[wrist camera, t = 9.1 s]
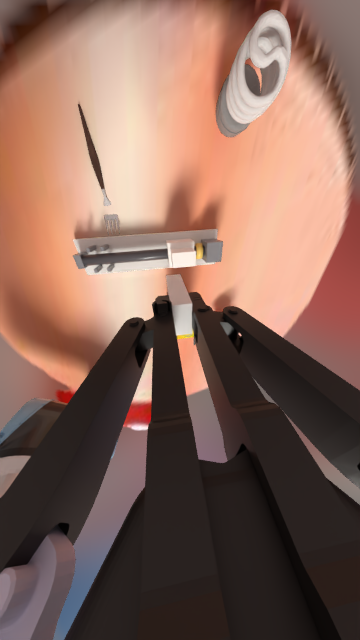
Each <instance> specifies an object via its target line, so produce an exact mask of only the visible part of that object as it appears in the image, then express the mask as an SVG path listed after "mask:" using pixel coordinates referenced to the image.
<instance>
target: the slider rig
mask: <svg viewBox="0 0 360 640" xmlns="http://www.w3.org/2000/svg"><path fill="white" fill-rule="evenodd" d="M217 232H218V229H206V230H192V231H178V232H164V233H151V234H137V235H123V236H109V237H95V238H81V239H73V241H74V243H75V246H76V248H77V250H78V254H75V255H73V257H74V259H75V262H76V264H77V266H78V269H82V268H85V270H86V272H87V275H94V274H105V273H116V272H128V271H139V270H150V269H161V268H169V264H168V248H167V245H166V240H176V239H189V238H190V239H192V240H193V241H194V250H195V251H196V265H206V264H215V262H221V257H222V247H223V241H220V240H217Z"/></svg>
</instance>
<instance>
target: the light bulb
mask: <svg viewBox="0 0 360 640" xmlns="http://www.w3.org/2000/svg"><path fill="white" fill-rule="evenodd" d="M290 56H291V35H290V29H289V25H288V23H287V20H286V19H285V17H284V15H283V14H282V13H281V12H279V11H277V10H270V11H268V12H265V13H264V14H262V15H261V16H260V17H259V19H258V20H257V22H256V23H255V25H254V27H253V28H252V29H251V30H250V32H249V33H248V34H247V36H246V38H245V40H244V42H243V43H242V45H241V46H240V48H239V50H238V52H237V55H236V57H235V60H234V62H233V65H232V68H231V71H230V74H229V75H228V77H227V78H226V80H225V82H224V84H223V87H222V89H221V92H220V94H219V98H218V101H217V105H216V122H217V125H218V128H219V130H220V131H221V133H222V134H223V135H225V136H226V137H234V136H236V135H238V134H239V133H241V132H242V131H243V130H245V129H246V128H247V127H248V125H249V124H250V123H251V122H252V121H254V120H255V119H256V118H257V117H259V116H260V115H262V114H263V113H264V112H265V111H266V109H267V108H268V107H269V106H270V105H271V104H272V102H273V101H274V100H275V98H276V97H277V95H278V93H279V92H280V90H281V88H282V85H283V83H284V81H285V77H286V74H287V71H288V67H289V62H290ZM249 58H251V61H252V63H253V64H254V66H256V67H258V68H260V70H261V74H262V88H261V93H260V82H259V79H258V76H257V74H256V71H255V70H254V69H253V68H252V67H251V66H249V65H245V60H246V59H249Z"/></svg>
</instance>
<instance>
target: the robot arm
mask: <svg viewBox="0 0 360 640" xmlns="http://www.w3.org/2000/svg"><path fill="white" fill-rule="evenodd" d="M166 279H167V288H168V295H166V296H158V297H157V298H156V301H155V302H153V304H152V307H153V312H154V317H153V318H151V319H149V320H147V321H144V320H143V319H142V318H138V317H136V318H131V319H129V320H127V321H126V322H125V323H124V324H123V326H122V327H121V329H120V330H119V331H118V333H117V334H116V336H115V337H114V339H113V340H112V341H111V343H110V344H109V346H108V347H107V349H106V350H105V351H104V353H103V354H102V356H101V357H100V359H99V360H98V361H97V363H96V364H95V366H94V367H93V368H92V370H91V371H90V373H89V374H88V376H87V377H86V378H85V380H84V381H83V383H82V384H81V386H80V387H79V388H78V390H77V391H76V393H75V394H74V396H73V397H72V398H71V400H70V401H69V403H68V404H67V403H63V402H58V401H54V400H53V399H50V400H48V399H42V398H34V399H31V400H30V401H28V402H27V403H26V404H25V405H24V406H23V407H22V408H21V409H20V410H19V411H18V412H17V413H16V414H15V415H14V416H13V417H12V419H11V420H10V421H9V422H8V423H7V424H6V425H5V427H4V428H3V429H2V430H1V432H0V640H53V637H54V633H55V629H56V625H57V621H58V619H59V616H60V613H61V611H62V608H63V606H64V603H65V600H66V598H67V595H68V593H69V590H70V588H71V584H72V579H73V576H74V570H75V560H76V559H75V551H74V548H73V545H74V543H75V541H76V539H77V538H78V536H79V534H80V532H81V530H82V528H83V526H84V524H85V521H86V519H87V517H88V515H89V513H90V511H91V509H92V507H93V504H94V502H95V499H96V497H97V494H98V492H99V489H100V487H101V484H102V481H103V479H104V476H105V473H106V470H107V468H108V465H109V462H110V460H111V459H112V457H113V456H114V453H115V449H116V445H117V442H118V438H119V435H120V432H121V430H122V427H123V424H124V421H125V419H126V416H127V413H128V411H129V408H130V405H131V402H132V400H133V397H134V394H135V392H136V389H137V386H138V383H139V381H140V378H141V375H142V372H143V370H144V367H145V364H146V362H147V359H148V356H149V353H150V349H151V348H153V370H152V408H151V422H150V423H149V426H148V436H147V457H146V481H145V488H144V489H143V490H142V491H141V493H140V494H139V495H138V497H137V499H136V500H135V502H134V503H133V505H132V507H131V509H130V511H129V513H128V515H127V517H126V519H125V521H124V523H123V525H122V527H121V529H120V530H119V533H118V535H117V536H116V538H115V540H114V542H113V545H112V546H111V548H110V550H109V552H108V554H107V556H106V558H105V560H104V562H103V564H102V566H101V568H100V570H99V572H98V574H97V576H96V578H95V580H94V582H93V584H92V586H91V588H90V590H89V592H88V594H87V596H86V598H85V600H84V602H83V604H82V606H81V608H80V610H79V612H78V614H77V616H76V618H75V620H74V622H73V624H72V626H71V628H70V630H69V631H68V633H67V635H66V637H65V639H64V640H360V505H359V504H358V503H357V502H355V501H354V500H353V499H352V498H351V497H349V496H348V495H347V494H346V493H344V492H343V491H342V490H341V489H339V488H338V487H337V486H336V485H334V484H333V483H332V482H331V481H329V480H328V479H327V478H326V477H325V476H324V474H323V472H322V471H321V469H320V468H319V466H318V465H317V463H316V462H315V460H314V459H313V457H312V455H311V454H310V452H309V451H308V449H307V448H306V446H305V445H304V443H303V442H302V440H301V438H300V437H299V435H298V434H297V432H296V431H295V429H294V428H293V426H292V424H291V423H290V421H289V420H288V418H287V417H286V415H287V416H288V417H289V418H290V419H291V420H292V421H293V422H294V424H295V425H296V426H297V427H298V428H299V429H300V430H301V431H302V432H303V434H304V435H305V436H306V437H307V438H308V439H309V440H310V442H311V443H312V444H313V445H314V446H315V447H316V448H317V449H318V450H319V451H320V452H321V453H322V454H323V455H324V456H325V458H327V460H328V461H329V462H330V463H331V464H333V465H334V466H335V467H336V468H337V469H338V470H339V471H340V472H341V473H342V474H343V475H344V476H345V477H346V478H348V479H349V480H350V481H351V482H352V483H354V484H355V485H356V486H357V487H358V488H360V391H359V390H358V389H357V388H355V387H354V386H352V385H351V384H349V383H348V382H346V381H345V380H343V379H342V378H341V377H339V376H338V375H336V374H335V373H333V372H332V371H330V370H329V369H327V368H326V367H325V366H323V365H322V364H320V363H319V362H317V361H316V360H314V359H313V358H311V357H310V356H309V355H307V354H306V353H304V352H303V351H301V350H300V349H298V348H297V347H295V346H294V345H293V344H291V343H290V342H288V341H287V340H285V339H284V338H282V337H281V336H279V335H278V334H277V333H275V332H274V331H272V330H271V329H269V328H268V327H266V326H265V325H263V324H262V323H261V322H259V321H258V320H256V319H255V318H253V317H252V316H250V315H249V314H247V313H246V312H244V311H243V310H242V309H240V308H238V307H234V306H230V307H226V308H224V309H223V312H215V311H213V310H212V308H211V307H210V306H207V305H206V304H205V303H204V301H203V300H202V297H201V295H200V294H199V293H197V292H191V293H188V292H187V289H186V287H185V284H184V282H183V279H182V277H181V275H180V274H176V275H166ZM192 329H193V330H192ZM193 332H194V345H195V344H196V347H197V350H198V354H199V357H200V360H201V364H202V367H203V370H204V374H205V377H206V380H207V384H208V387H209V390H210V394H211V397H212V400H213V404H214V407H215V410H216V413H217V417H218V421H219V424H220V427H221V430H222V434H223V440H224V448H225V452H226V456H227V460H228V461H227V462H225V463H216V462H210V461H205V460H199V459H198V455H197V449H196V443H195V437H194V431H193V426H192V421H191V417H190V414H189V408H188V403H187V396H186V390H185V384H184V378H183V372H182V367H181V361H180V355H179V349H178V343H177V337H176V336H177V335H185V334H193ZM238 333H240V334H241V335H242V336H239V335H238ZM253 378H254V379H255V380H256V381H257V383H258V384H259V385H260V386H261V387H262V388H263V389H264V390H265V391H266V393H267V394H268V395H269V396H270V397H271V398H272V399H273V400H274V401H275V402H276V404H277V405H278V406H277V405H276V404H274V403H270V402H268V401H267V400H266V399H265V397H264V396H263V394H262V393H261V391H260V389H259V388H258V386H257V384H256V382H255V381H254V379H253ZM280 408H281V409H282V410H283V411H284V412H283V411H282V410H281V409H280ZM284 413H285V414H286V415H285V414H284Z"/></svg>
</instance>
